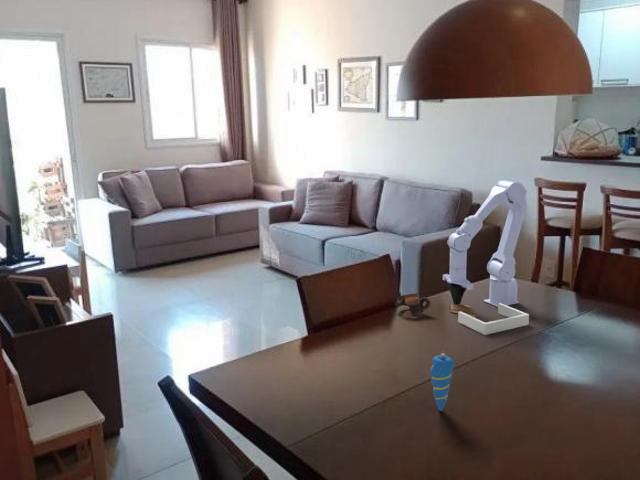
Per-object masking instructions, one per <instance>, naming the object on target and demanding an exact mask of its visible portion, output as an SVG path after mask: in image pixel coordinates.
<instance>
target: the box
mask: <svg viewBox="0 0 640 480" xmlns="http://www.w3.org/2000/svg"><path fill="white" fill-rule="evenodd" d="M497 314H498V315H501V316H503V317H505V318H501V319H496V320H492V321H488V322H484V321H482V320H480V319H479V318H477V317H476V318H474V317H472V316H470V315H467V314H465V313H463V312H461V311H460V312H458V314H457V316H458V317H457V322H458V323H460V324H461V325H464V326H465V327H468V328H470V329H472V330H474V331H476V332H478V333H480V334H482V335H484V336H486V335H491V334H495V333H500V332H504V331H507V330H512V329H515V328H516V329H517V328H521V327H524V326H525V327H526V326H528V325H529V323H530V321H529V320H530V314H529V313H526V312H523V311H521V310H518V309H517V308H513V307H512V306H510V305H504V304H502V303H499V304H498V307H497Z"/></svg>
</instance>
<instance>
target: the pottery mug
mask: <svg viewBox="0 0 640 480" xmlns="http://www.w3.org/2000/svg"><path fill="white" fill-rule="evenodd" d="M424 302H425V305H424ZM431 302H432V301H430V299H429V297H425V296H423V297H419V296H418V294H417V293H407V294H403V295H399V296H397V297H396V302H395V307H398V306H405V307H408V309H409V310H406V311H404V315H405V318H406V319H408V318H413V317H415V318H417V317H422V314H423V313H424V311H426V310H428V308H430V307H431Z"/></svg>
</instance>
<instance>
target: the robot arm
mask: <svg viewBox="0 0 640 480" xmlns="http://www.w3.org/2000/svg"><path fill="white" fill-rule="evenodd" d="M526 195H527V189H526V187H525V186H524V185H523V183H521V182H517V181H513V180H512V181H511V180H508V179H501V180H499V181H498V182H497V183H496V184H495V185H494V187H492V188H491V191H490V193H489V195H488V196H487V197H486V199H485V200H484V202H483V203H482V204H481V205H480V207H479V208H478V210H477V211H476V212H475V214H473V215H469V216H468V217H465V218H464V219H463V223H462V224H461V226H460V227H459V228H457V229H456V230H455V232H453V233H451V234H450V235H449V237H448V240H446V243H447V245H448V248H449V274H448V273H445V274H442V280H443V281H446V283H448V284H447V288H448V291H449V293H450V295H451V298H452V303H453V305H461V303H462V299H463V297H464V294H465V292H466V291H472V290H474V283H471V282H470V281H469V280H468V279H467V261H468V260H467V259H468V258H467V257H468V256H467V254H468V253H467V252H468V249H469V248H470V247H471V242H472V240H473V238H474V237H475V236H476V235H477V234H478V233H479V231H480V230H481V228H482V227H483V225H484V224H483V221H484V220H485V219H486V218H487V217H488V216H489V215H490V213H492V212H493V211H494V210H495V208H497V207H498V205H501V204H506V205H507V207H508V208H509V209H508V212H507V216H506V220H505V224H504V227H503V230H502V233H501V237H500V241H499V244H498V248H497V251H495V252H494V253H493V254H492V256H491V258H490V260H489V261H488V263H487V264H486V265H487V266H486V270H487V272H488V273H489V290H488V291H489V293H488V294H489V296H488V297H489V298H488V299H483V302H485V303H487V304H489V305H492V306H495V307H497V308H498V304H499V303H502V304H504V305H507V306H512V305H515V304H519V301H518V288H519V285H518V282H517V280H516V279H515V275H516V263H517V262H516V259H515V257H514V254H515V250H516V247H517V244H518V243H517V242H518V240H519V236H520V233H521V229H522V225H523V222H524V219H525V215H526V212H527V209H528V208H527V207H528V204H527V198H526Z"/></svg>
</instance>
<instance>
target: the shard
mask: <svg viewBox="0 0 640 480" xmlns="http://www.w3.org/2000/svg"><path fill="white" fill-rule="evenodd" d="M450 306H451V307H450V310H449V312H450V313H453V314H456V315H458V312H460V311H461V312H463V313H465V314H467V315H470V316H472V317H474V318H476V319H477V315H476V313H475V310H474V309H473V308H472V307H471V305H467V304H459V305H455V304H450Z"/></svg>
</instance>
